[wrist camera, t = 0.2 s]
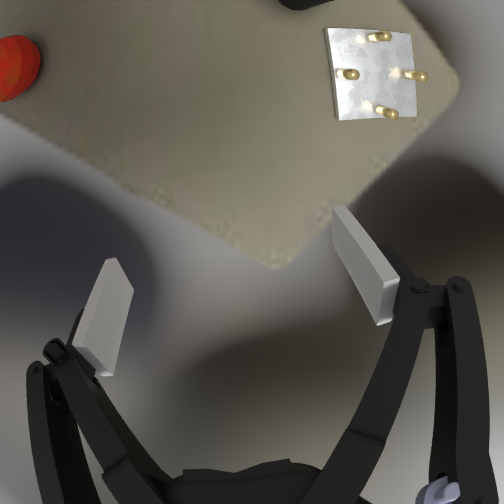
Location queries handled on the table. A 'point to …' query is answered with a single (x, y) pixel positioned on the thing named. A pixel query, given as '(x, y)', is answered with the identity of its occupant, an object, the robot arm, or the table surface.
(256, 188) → the table surface
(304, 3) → the cup
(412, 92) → the white board with pegs
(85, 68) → the table surface
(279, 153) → the table surface
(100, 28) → the table surface
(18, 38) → the apple
